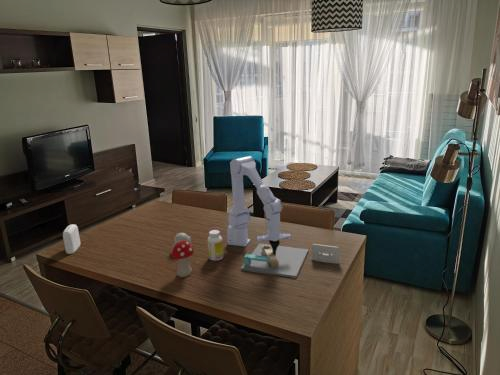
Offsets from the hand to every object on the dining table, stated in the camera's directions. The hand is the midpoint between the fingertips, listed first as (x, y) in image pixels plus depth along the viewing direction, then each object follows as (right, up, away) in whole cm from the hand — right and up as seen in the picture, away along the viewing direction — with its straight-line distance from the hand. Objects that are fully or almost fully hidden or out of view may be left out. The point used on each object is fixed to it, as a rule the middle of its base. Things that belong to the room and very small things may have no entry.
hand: (274, 254), depth 174 cm
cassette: (+22, -3, -3) cm, 23 cm away
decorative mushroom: (-39, -7, -9) cm, 40 cm away
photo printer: (-98, -1, +18) cm, 99 cm away
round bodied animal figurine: (-43, 0, +14) cm, 45 cm away
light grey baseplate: (+1, -2, 0) cm, 2 cm away
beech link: (-2, -1, 0) cm, 2 cm away
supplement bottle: (-26, -2, +4) cm, 27 cm away
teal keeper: (-7, -4, -6) cm, 10 cm away
